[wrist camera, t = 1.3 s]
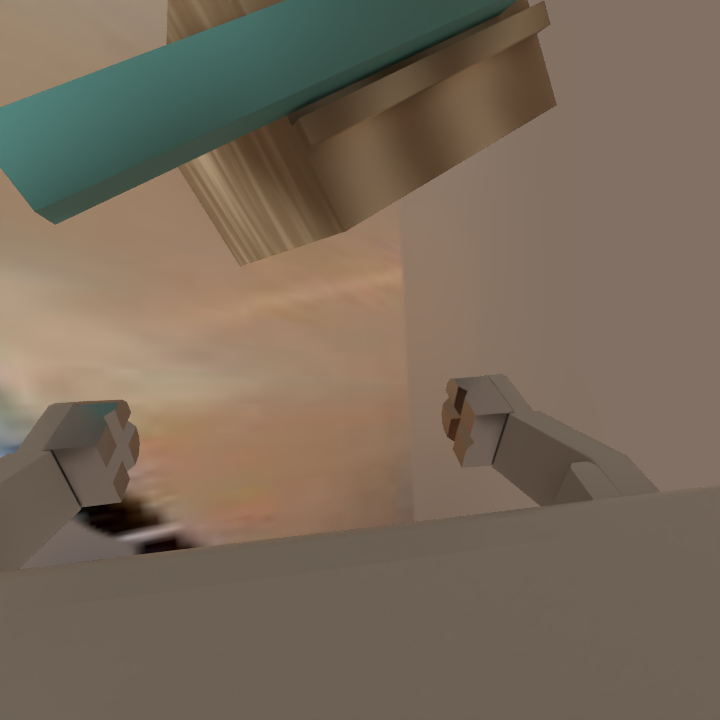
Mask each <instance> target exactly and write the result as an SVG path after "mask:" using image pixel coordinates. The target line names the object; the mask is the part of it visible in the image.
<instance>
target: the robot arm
mask: <svg viewBox="0 0 720 720" xmlns="http://www.w3.org/2000/svg"><path fill="white" fill-rule="evenodd" d="M446 392H447V394H448V396H449V398H448V399H447V400H446V401H445V402H444V403H443V408H442V424H443V427H444V431H445V433H446V435H447V437H448V438H450V439H451V440H453V441H454V446H453V450H454V452H455V454H456V456H457V459H458V461H459V463H460V465H461V467H462V468H464V467H478V466H491V465H493V466H492V467H493V468H494V469H496V470H497V471H498V472H499V473H500V474H502V475H503V476H504V477H505V478H507V479H508V480H509V481H510V482H511V483H513V484H514V485H515V486H516V487H518V488H519V489H520V490H521V491H523V492H524V493H525V494H526V495H528V496H529V497H530V498H531V499H532V500H534V501H535V502H536V503H537V504H539V505H540V507H532V508H524V509H515V510H507V511H499V512H492V513H483V514H474V515H467V516H458V517H449V518H441V519H433V520H424V521H416V522H408V523H399V524H391V525H383V526H374V527H366V528H357V529H349V530H341V531H333V532H324V533H316V534H308V535H300V536H291V537H283V538H275V539H266V540H258V541H250V542H242V543H233V544H225V545H217V546H209V547H200V548H192V549H184V550H175V551H167V552H159V553H151V554H142V555H134V556H126V557H117V558H109V559H101V560H93V561H84V562H77V563H68V564H60V565H51V566H43V567H35V568H27V569H20V568H21V567H22V566H23V565H24V564H25V563H26V562H27V561H28V560H29V559H30V558H31V557H32V556H33V555H34V554H35V553H36V552H37V551H38V550H39V549H40V548H41V547H43V546H44V545H45V544H46V543H47V542H48V541H49V540H50V539H51V538H52V537H53V536H54V535H55V534H56V533H57V532H58V531H59V530H60V529H61V528H62V527H63V526H64V525H65V524H66V523H67V522H68V521H69V520H70V519H71V518H72V517H74V516H75V515H76V514H77V513H78V512H79V511H80V510H81V508H80V507H87V506H95V505H103V504H110V503H118V502H121V501H122V498H123V496H124V493H125V491H126V488H127V485H128V483H129V480H130V478H129V476H128V473H127V471H128V470H129V469H130V468H132V467H133V466H134V465H135V464H136V461H137V458H138V455H139V445H140V442H139V434H138V431H137V428H136V426H134V425H133V424H132V423H130V422H129V421H128V419H129V416H130V414H131V411H130V409H129V406H128V404H127V402H126V401H124V400H105V401H83V402H66V403H54V404H52V405H50V406H49V407H48V408H47V409H46V411H45V412H44V413H43V415H42V416H41V418H40V419H39V420H38V422H37V423H36V425H35V426H34V427H33V429H32V430H31V432H30V433H29V434H28V436H27V437H26V439H25V440H24V441H23V443H22V444H21V446H20V447H19V448H18V450H17V451H16V453H13V454H6V455H5V456H3V457H1V458H0V720H720V485H714V486H706V487H698V488H691V489H681V490H673V491H665V492H660V491H659V490H658V489H657V487H656V486H655V485H654V484H653V483H652V482H651V481H650V480H649V479H648V478H647V477H646V476H645V474H643V472H642V471H641V470H640V469H639V468H638V467H637V466H636V465H635V464H634V463H633V462H632V460H631V459H630V458H629V457H628V456H626V455H624V454H622V453H620V452H618V451H616V450H614V449H612V448H610V447H609V446H607V445H605V444H602V443H601V442H599V441H597V440H595V439H593V438H591V437H589V436H587V435H585V434H583V433H581V432H579V431H577V430H575V429H573V428H571V427H570V426H567V425H566V424H564V423H562V422H560V421H558V420H556V419H554V418H552V417H550V416H548V415H546V414H544V413H542V412H540V411H533V410H532V408H531V407H530V406H529V405H528V403H527V402H526V401H525V399H524V398H523V397H522V396H521V394H520V393H519V392H518V391H517V389H516V388H515V387H514V385H513V384H512V383H511V382H510V380H509V379H508V378H507V376H505V375H503V374H496V375H486V376H480V377H466V378H451V379H450V380H449V381H448V383H447V387H446Z"/></svg>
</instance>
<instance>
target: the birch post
mask: <svg viewBox="0 0 720 720" xmlns="http://www.w3.org/2000/svg"><path fill="white" fill-rule="evenodd" d="M283 1H285V0H168V12H167V45H168V44H171V43H173V42H176V41H179V40H181V39H184V38H187V37H189V36H192V35H195V34H197V33H200V32H203V31H205V30H208V29H211V28H213V27H216V26H219V25H221V24H224V23H227V22H229V21H232V20H235V19H237V18H240V17H243V16H245V15H248V14H251V13H253V12H256V11H259V10H261V9H264V8H267V7H269V6H272V5H275V4H277V3H280V2H283ZM549 25H550V21H549V17H548V13H547V10H546V6H545V2H544V1H542V2H540V3H538V4H536V5H534V6H532V7H530V8H529V4H528V1H527V0H517V1H516V2H515V3H514V4H512V5H511V6H510V7H509V8H508V9H506V10H505V11H504V12H503V13H501V14H500V15H499V16H496V17H494V18H492V19H490V20H488V21H486V22H484V23H482V24H480V25H477V26H475V27H473V28H471V29H469V30H467V31H465V32H463V33H460V34H458V35H456V36H454V37H452V38H450V39H448V40H446V41H443V42H441V43H439V44H437V45H435V46H433V47H431V48H429V49H427V50H424V51H422V52H420V53H418V54H416V55H414V56H412V57H410V58H407V59H405V60H403V61H401V62H399V63H397V64H395V65H393V66H390V67H388V68H386V69H384V70H382V71H380V72H378V73H376V74H374V75H371V76H369V77H367V78H365V79H363V80H361V81H359V82H357V83H354V84H352V85H350V86H348V87H346V88H344V89H342V90H340V91H337V92H335V93H333V94H331V95H329V96H327V97H325V98H323V99H321V100H318V101H316V102H314V103H312V104H310V105H308V106H306V107H304V108H301V109H299V110H297V111H295V112H293V113H291V114H289V115H287V116H284V117H282V118H280V119H278V120H276V121H274V122H272V123H270V124H268V125H265V126H263V127H261V128H259V129H257V130H255V131H253V132H251V133H248V134H246V135H244V136H242V137H240V138H238V139H236V140H234V141H231V142H229V143H227V144H225V145H223V146H221V147H219V148H217V149H215V150H212V151H210V152H208V153H206V154H204V155H202V156H200V157H198V158H195V159H193V160H191V161H189V162H187V163H185V164H183V165H181V166H179V169H180V171H181V172H182V174H183V175H184V177H185V179H186V180H187V182H188V183H189V185H190V187H191V188H192V190H193V191H194V193H195V195H196V196H197V198H198V199H199V201H200V203H201V204H202V206H203V207H204V209H205V211H206V212H207V214H208V215H209V217H210V219H211V220H212V222H213V223H214V225H215V227H216V228H217V230H218V231H219V233H220V235H221V236H222V238H223V239H224V241H225V243H226V244H227V246H228V247H229V249H230V251H231V252H232V254H233V255H234V257H235V259H236V260H237V262H238V263H239V265H240V266H242V265H245V264H248V263H251V262H254V261H257V260H260V259H263V258H267V257H270V256H273V255H276V254H279V253H282V252H285V251H288V250H291V249H294V248H297V247H300V246H303V245H306V244H309V243H312V242H315V241H318V240H321V239H324V238H327V237H330V236H333V235H336V234H339V233H342V232H345V231H347V230H348V229H350V228H352V227H353V226H355V225H357V224H358V223H360V222H362V221H363V220H365V219H367V218H368V217H370V216H372V215H373V214H375V213H377V212H379V211H380V210H382V209H384V208H385V207H387V206H389V205H390V204H392V203H394V202H395V201H397V200H399V199H400V198H402V197H404V196H405V195H407V194H408V193H410V192H412V191H414V190H415V189H417V188H419V187H420V186H422V185H424V184H425V183H427V182H429V181H430V180H432V179H434V178H435V177H437V176H439V175H440V174H442V173H444V172H445V171H447V170H449V169H450V168H452V167H454V166H455V165H457V164H459V163H461V162H462V161H464V160H466V159H467V158H469V157H471V156H472V155H474V154H475V153H477V152H479V151H480V150H482V149H484V148H486V147H487V146H489V145H491V144H492V143H494V142H496V141H497V140H499V139H501V138H502V137H504V136H505V135H507V134H509V133H510V132H512V131H514V130H516V129H517V128H519V127H521V126H522V125H524V124H526V123H527V122H529V121H531V120H532V119H534V118H536V117H537V116H539V115H541V114H543V113H544V112H546V111H548V110H549V109H551V108H553V107H554V106H556V101H555V98H554V94H553V90H552V87H551V83H550V79H549V76H548V73H547V69H546V65H545V61H544V58H543V55H542V51H541V47H540V44H539V40H538V37H537V33H539V32H540V31H541V30H543V29H544V28H546V27H547V26H549Z"/></svg>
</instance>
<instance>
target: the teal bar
mask: <svg viewBox="0 0 720 720" xmlns="http://www.w3.org/2000/svg"><path fill="white" fill-rule="evenodd" d="M516 1H517V0H285V1H283V2H280V3H277V4H275V5H272V6H269V7H267V8H264V9H261V10H259V11H256V12H253V13H251V14H248V15H245V16H243V17H240V18H237V19H235V20H232V21H229V22H227V23H224V24H221V25H219V26H216V27H213V28H211V29H208V30H205V31H203V32H200V33H197V34H195V35H192V36H189V37H187V38H184V39H181V40H179V41H176V42H173V43H171V44H168V45H165V46H163V47H160V48H157V49H155V50H152V51H149V52H147V53H144V54H141V55H139V56H136V57H133V58H131V59H128V60H125V61H123V62H120V63H117V64H115V65H112V66H109V67H107V68H104V69H102V70H99V71H96V72H94V73H91V74H88V75H86V76H83V77H80V78H78V79H75V80H72V81H70V82H67V83H64V84H62V85H59V86H56V87H54V88H51V89H48V90H46V91H43V92H40V93H38V94H35V95H32V96H30V97H27V98H24V99H22V100H19V101H16V102H14V103H11V104H8V105H6V106H3V107H0V168H1V169H2V170H3V171H4V173H5V174H6V175H7V177H8V178H9V179H10V180H11V182H12V183H13V184H14V186H15V187H16V188H17V189H18V191H19V192H20V193H21V195H22V196H23V197H24V198H25V200H26V201H27V202H28V203H29V205H30V206H31V207H32V209H33V210H34V211H35V212H36V213H38V214H39V215H41V216H42V217H44V218H45V219H47V220H49V221H50V222H52V223H53V224H55V225H56V224H58V223H60V222H62V221H64V220H66V219H68V218H70V217H73V216H75V215H77V214H79V213H81V212H83V211H85V210H87V209H89V208H92V207H94V206H96V205H98V204H100V203H102V202H104V201H106V200H109V199H111V198H113V197H115V196H117V195H119V194H121V193H123V192H126V191H128V190H130V189H132V188H134V187H136V186H138V185H140V184H142V183H145V182H147V181H149V180H151V179H153V178H155V177H157V176H159V175H162V174H164V173H166V172H168V171H170V170H172V169H174V168H176V167H179V166H181V165H183V164H185V163H187V162H189V161H191V160H193V159H195V158H198V157H200V156H202V155H204V154H206V153H208V152H210V151H212V150H215V149H217V148H219V147H221V146H223V145H225V144H227V143H229V142H231V141H234V140H236V139H238V138H240V137H242V136H244V135H246V134H248V133H251V132H253V131H255V130H257V129H259V128H261V127H263V126H265V125H268V124H270V123H272V122H274V121H276V120H278V119H280V118H282V117H284V116H287V115H289V114H291V113H293V112H295V111H297V110H299V109H301V108H304V107H306V106H308V105H310V104H312V103H314V102H316V101H318V100H321V99H323V98H325V97H327V96H329V95H331V94H333V93H335V92H337V91H340V90H342V89H344V88H346V87H348V86H350V85H352V84H354V83H357V82H359V81H361V80H363V79H365V78H367V77H369V76H371V75H374V74H376V73H378V72H380V71H382V70H384V69H386V68H388V67H390V66H393V65H395V64H397V63H399V62H401V61H403V60H405V59H407V58H410V57H412V56H414V55H416V54H418V53H420V52H422V51H424V50H427V49H429V48H431V47H433V46H435V45H437V44H439V43H441V42H443V41H446V40H448V39H450V38H452V37H454V36H456V35H458V34H460V33H463V32H465V31H467V30H469V29H471V28H473V27H475V26H477V25H480V24H482V23H484V22H486V21H488V20H490V19H492V18H494V17H496V16H499V15H500V14H501V13H503V12H504V11H505V10H506V9H508V8H509V7H510V6H511V5H512V4H514V3H515V2H516Z"/></svg>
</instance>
